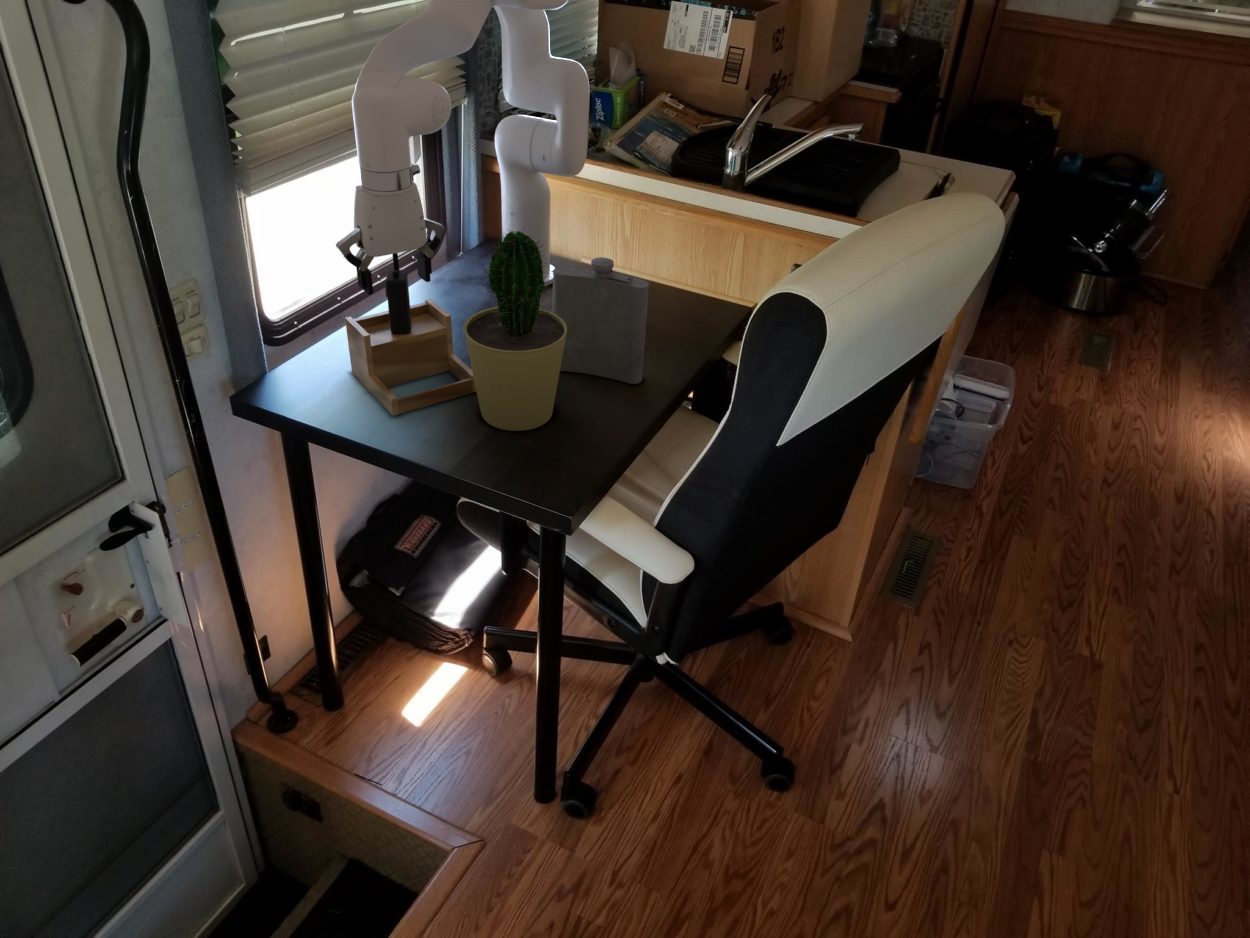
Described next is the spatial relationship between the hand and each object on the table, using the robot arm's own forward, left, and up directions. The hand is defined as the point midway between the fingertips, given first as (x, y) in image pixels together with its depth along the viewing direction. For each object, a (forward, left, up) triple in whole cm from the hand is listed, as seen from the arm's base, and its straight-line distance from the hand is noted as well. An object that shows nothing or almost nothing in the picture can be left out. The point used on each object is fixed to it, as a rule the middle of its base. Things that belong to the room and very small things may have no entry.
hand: (396, 285), depth 147 cm
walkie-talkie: (0, 0, -8) cm, 8 cm away
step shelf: (+4, 0, -15) cm, 16 cm away
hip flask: (+17, +28, -16) cm, 36 cm away
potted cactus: (+21, +9, -16) cm, 28 cm away
